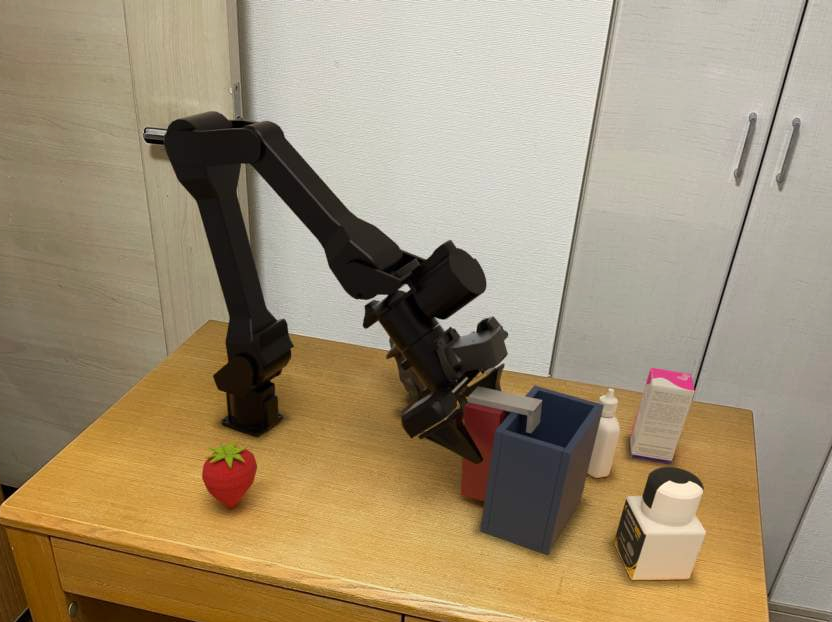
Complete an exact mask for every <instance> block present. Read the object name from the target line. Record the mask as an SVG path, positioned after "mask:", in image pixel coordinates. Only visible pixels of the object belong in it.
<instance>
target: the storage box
mask: <svg viewBox="0 0 832 622" xmlns="http://www.w3.org/2000/svg"><path fill="white" fill-rule="evenodd" d="M525 396H526V397H530V398H535V399H540V400H542V407H541V417H540V423H539V424H538V426H537V427H536V428H535V429H534V431H533V432H532V433H527V432H526V426H527V415H523V414H518V413H514V412H511V413H510V414H509V416H508V417H507V418H506V419H505V420H504V421H503V422H502V424H501V425H500V426H499V427H498V428H497V429H496V431H495V436H494V442H493V449H492V456H491V462H490V469H489V475H488V482H487V489H486V495H485V501H483V502H484V503H483V508H482V509H483V510H482V516H481V523H480V530H479V531H480V532H481V533H484V534H486V535H490V536H493V537H495V538H498V539H500V540H504V541H507V542H510V543H513V544H516V545H518V546H521V547H524V548H526V549H530V550H532V551H535V552H538V553H540V554H544V555H546V556H548V555H549V554H550V553H551V551H552V550H553V548H554V546H555V545H556V543H557V541H558V539H559V538H560V537H561V535H562V533H563V531H564V530H565V528H566V527H567V525H568V523H569V522H570V519H571V518H572V516H573V515H574V513H575V512H576V510H577V509H578V506H579V505H580V503H581V501H582V497H583V493H584V490H585V489H584V488H585V484H586V480H587V476H588V474H587V473H588V469H589V464H590V460H591V456H592V452H593V448H594V444H595V440H596V436H597V431H598V427H599V423H600V419H601V415H602V411H603V407H604V405H603V404H599V403H598V402H595V401H591V400H589V399H584V398H580V397H577V396H574V395H570V394H567V393H564V392H561V391H556V390H553V389H548V388H545V387H542V386H538V385H536V384H535V385H533V386H532V387H531V388H530V390H529V391H528V392H527V393H526V394H525Z"/></svg>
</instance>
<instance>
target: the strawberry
mask: <svg viewBox="0 0 832 622" xmlns="http://www.w3.org/2000/svg"><path fill="white" fill-rule="evenodd" d="M231 441H232V439H230V440H229V441H228V442H227V443H226V444H223V443H221V442H219V446H220V447H208V448H207V449H208V450H209V451H212V452H213V453H212V454H210V455H207V456H205V457H204V459H206V460H205V461H204V463H203V465H202V466H203V467H202V473H201V479H202V482H203V484H204V486H205V488H206V491H207V492H208V493H209V494H210V495H211V496H212V497H213V498H214V499H215V500H216V501H217V502H219V503H221V504H223V505H224V506H225V507H226V508H229V509H232V508H235V507H236V506H237V505H238V504H239V502H240V501H241V500H242V499H243V498H244V497H245V495H246V494H247V493H248V491H249V490H250V488H251V487H252V486H253V484H254V481H255V477H256V474H257V470H258V463H257V460H256V457H255V455H254V453H253V452H251V451H250V450H249V449H248V448H249V447H248V446H238V445H237V440H235V441H234V442H232V443H230V442H231ZM229 443H230V444H229ZM236 445H237V446H236Z"/></svg>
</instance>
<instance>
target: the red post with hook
mask: <svg viewBox="0 0 832 622" xmlns="http://www.w3.org/2000/svg"><path fill="white" fill-rule="evenodd" d="M467 400H468V403H467V404H466V405H465V412H464V417H463V424H464V426H465V427H466V429H467V431H468V432H469V434H470V436H471V437H472V439H473V441H474V442H475V444H476V446H477V447H478V449H479V451H480V453H481V455H482V457H483V461H482V462H481V463H479V464H474V463H472V462H470V461H469V460H467V459H465V458H463V457H462V462H461V483H460V484H461V485H460V487H461V488H460V490H461V491H460V496H462V497H467V498H471V499H474V500H478V501H482V502H485V495H486V489H487V482H488V475H489V469H490V462H491V456H492V449H493V442H494V436H495V431H496V429H497V428H498V427H499V426H500V425H501V424H502V422H503V421H504V420H505V419H506V418H507V417H508V416H509V414H510V413H511V412H514V413H518V414H523V415H527V426H526V432H527V433H532V432H533V431H534V429H535V428H536V427H537V426H538V424H539V423H540V417H541V407H542V400H540V399H535V398H530V397H526V395H521V394H515V393H511V392H506V391H502V390H501V391H497V390H493V389H488V388H483V387H477V388H476V389H475V390H474V391H473V392H472V393H471V394H470V395H469V396H468V398H467Z"/></svg>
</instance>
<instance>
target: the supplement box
mask: <svg viewBox="0 0 832 622" xmlns="http://www.w3.org/2000/svg"><path fill="white" fill-rule="evenodd" d="M695 393H696V392H695V387H694V381H693V377H692V373H688V372H682V371H674V370H668V369H664V368H663V369H662V368H656V367H650V369H649V373H648V375H647V379H646V382H645V385H644V389H643V393H642V395H641V398H640V399H641V400H640V403H639V406H638V408H637V409H638V410H637V414H636V415H635V419H634V422H633V426H632V429H631V432H630V435H629V456H630V458H631V459H636V460H644V461H648V462H649V461H650V462H654V463H655V462H656V463H661V464H672V461H673V459H674V455H675V452H676V449H677V447H678V443H679V441H680V438H681V434H682V432H683V428H684V425H685V423H686V421H687V417H688V413H689V411H690V408H691V404H692V402H693V399H694V395H695Z"/></svg>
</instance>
